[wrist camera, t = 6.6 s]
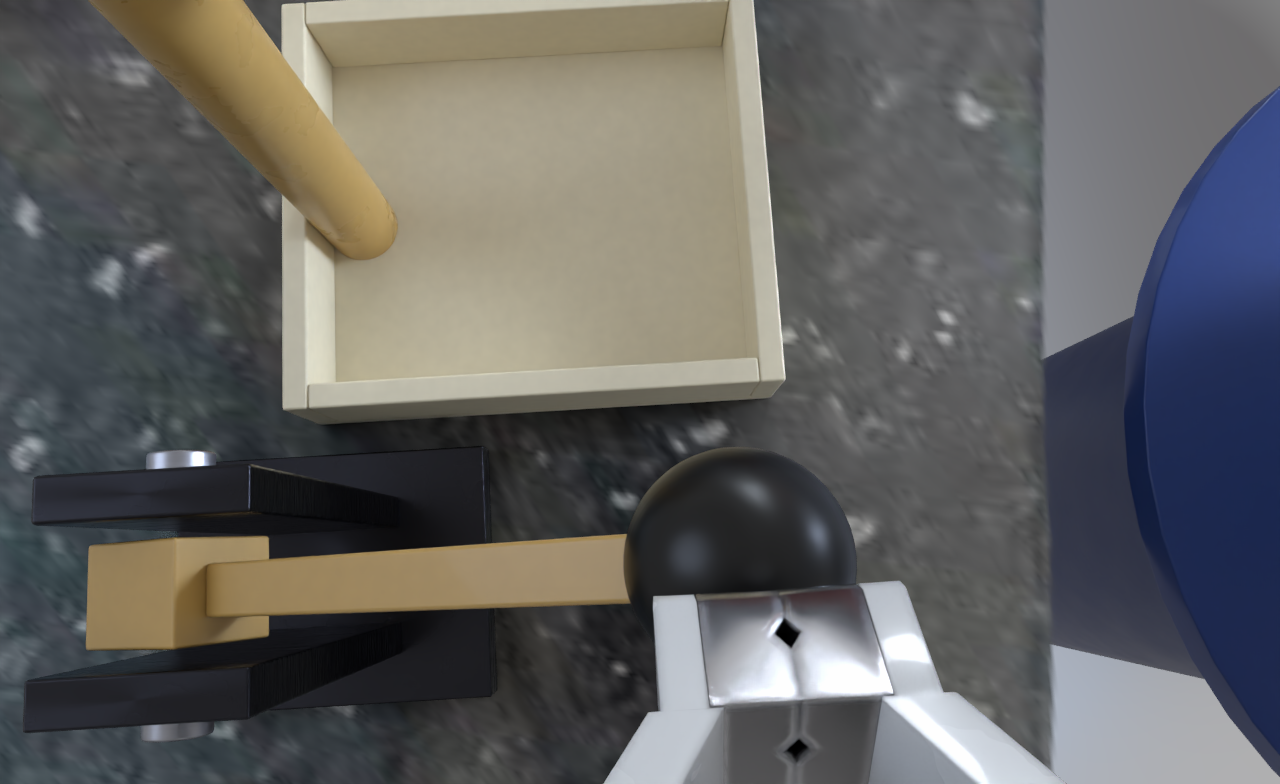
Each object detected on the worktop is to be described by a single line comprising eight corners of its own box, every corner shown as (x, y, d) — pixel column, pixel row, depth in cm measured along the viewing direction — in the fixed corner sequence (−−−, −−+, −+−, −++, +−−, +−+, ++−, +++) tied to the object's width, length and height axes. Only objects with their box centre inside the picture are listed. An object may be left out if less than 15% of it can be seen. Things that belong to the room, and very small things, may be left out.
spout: (560, 189, 35) (477, -195, 17) (563, 253, 35) (482, -69, 17) (334, 202, 35) (8, -170, 17) (334, 266, 35) (2, -43, 17)
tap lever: (871, 443, 16) (802, 425, 13) (894, 666, 16) (825, 703, 13) (207, 513, 24) (60, 512, 21) (205, 666, 23) (54, 690, 20)
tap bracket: (488, 450, 34) (387, 381, 20) (497, 691, 33) (394, 791, 19) (196, 467, 34) (-105, 410, 20) (193, 710, 32) (-130, 824, 19)
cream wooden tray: (740, 33, 36) (751, -23, 33) (770, 398, 34) (786, 380, 31) (315, 57, 36) (280, 2, 33) (318, 425, 34) (281, 410, 30)
